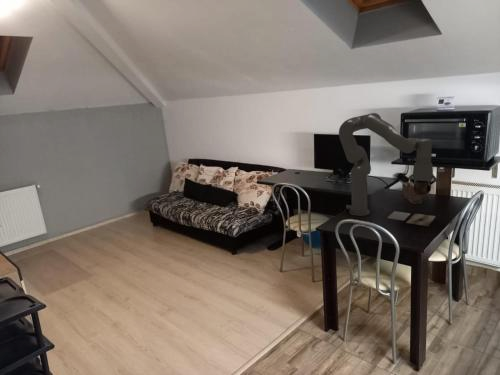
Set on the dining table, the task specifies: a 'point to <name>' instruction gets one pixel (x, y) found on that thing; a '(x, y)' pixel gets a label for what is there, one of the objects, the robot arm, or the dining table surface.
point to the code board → (421, 219)
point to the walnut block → (421, 187)
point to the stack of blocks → (411, 193)
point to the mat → (399, 215)
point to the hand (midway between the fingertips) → (422, 191)
